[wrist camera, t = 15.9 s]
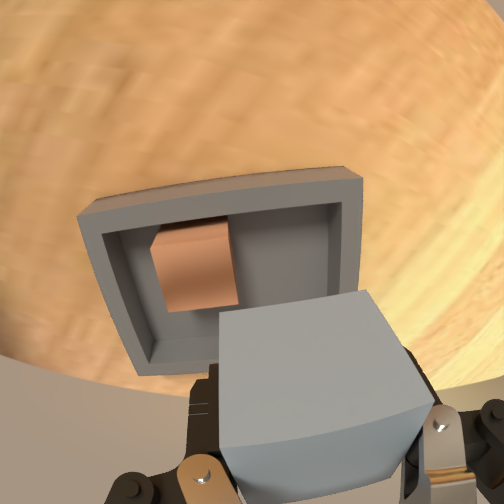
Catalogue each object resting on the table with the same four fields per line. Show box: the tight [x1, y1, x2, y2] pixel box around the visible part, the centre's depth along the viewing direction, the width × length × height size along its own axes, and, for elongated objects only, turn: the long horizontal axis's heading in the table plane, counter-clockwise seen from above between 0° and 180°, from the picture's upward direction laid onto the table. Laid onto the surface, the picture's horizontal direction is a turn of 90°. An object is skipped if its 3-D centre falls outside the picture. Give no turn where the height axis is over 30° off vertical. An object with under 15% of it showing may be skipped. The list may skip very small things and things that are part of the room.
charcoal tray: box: [77, 166, 363, 376], centre depth 25 cm, size 16×20×4 cm
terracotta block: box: [150, 215, 239, 312], centre depth 23 cm, size 5×5×5 cm
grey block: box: [219, 289, 435, 504], centre depth 9 cm, size 5×5×5 cm
